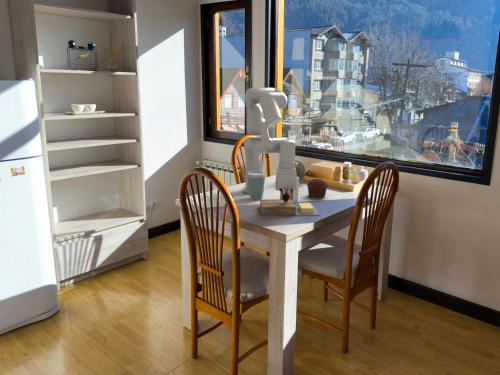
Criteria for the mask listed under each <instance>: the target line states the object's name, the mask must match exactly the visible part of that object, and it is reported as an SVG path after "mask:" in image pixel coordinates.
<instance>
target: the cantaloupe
mask: <svg viewBox="0 0 500 375" xmlns="http://www.w3.org/2000/svg"><path fill="white" fill-rule="evenodd" d="M295 163H298V165H297V166H295V168H296V174H297V177H299V183H300V182H302V181H303V180H304V179H305V177H306V167H305V164H304V163H303V162H301V161H300V160H299V161H298V160H295Z"/></svg>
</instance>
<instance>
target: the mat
mask: <svg viewBox="0 0 500 375" xmlns="http://www.w3.org/2000/svg"><path fill="white" fill-rule="evenodd" d="M294 205H295V207H296V215H295V216H296V217H297V216H298V217H303V216H304V217H306V216H319V217H320V216H321V213H320V212H319V211H318V209H317V208H316V207H315V205H313V204H311V205H312V206H313V208H314V212H313V213H301V212H300V210H299V208H298V206H299V204H298V205H296V204H294Z"/></svg>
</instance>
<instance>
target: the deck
mask: <svg viewBox="0 0 500 375" xmlns="http://www.w3.org/2000/svg"><path fill="white" fill-rule="evenodd" d="M259 201H260V202H259V208H260V211H261V214H262V217H263V216H296V207H295V205H296V204H295V202H292V200H291V199H289V200H288V202H284V200H283V199H280V198H279V199H275V198H274V199H272V198H271V199H260V200H259Z"/></svg>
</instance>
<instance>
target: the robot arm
mask: <svg viewBox="0 0 500 375" xmlns="http://www.w3.org/2000/svg"><path fill="white" fill-rule="evenodd" d="M244 99H245V100H244V102H245V106H246V112H247V113H246V114H247V116H246V118H247V119H246V120H247V121H246V123H247V124H246V125H247V126H246V128H247V129H246V131H247V133H248V135H250V136H256V137H249V138H246V139H245V140H244V142H243V149H244V155H245V175H246V174H247V173H248V172H249V171H253V170H259V171H263V161H262V158H261V157H260V156H259V155H264V154H265V155H266V154H267V155H268V154H275V153H277V154H279V155H278V156H279V157H278V161H279V162H278V167H277V168H276V173H275V187H274V188H275V190H276V191H279V192H280V191H281V192H282V193H283V197H282V199H283V200H284V202H288V200H289V194H290V193H291V192H292V191H294V190H297V187H296V186H297V174H296V168H295V166H297V165H298V163H295V161H296V142H295V140H293V139H290V138H289V137H286V136H284V137H281V136H280V137H279V136H278V137H275V136H276V125H278V124H279V123H280V122H281V121H282V115H281V112H280V109H283V110H284V109H285V108H286V107H287V105H288V97H287V96H286V93H285V92H283V91H281V89H278V88H275V87H250V88H248V89H247V90H246V92H245V95H244ZM257 136H259V137H257ZM285 188H287V192H286V193H285ZM242 192H243V194H248V195H250V193H249V187H248V180H247V177H246V176H245V186H244V188H243V189H242ZM263 193H265V189H263Z"/></svg>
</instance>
